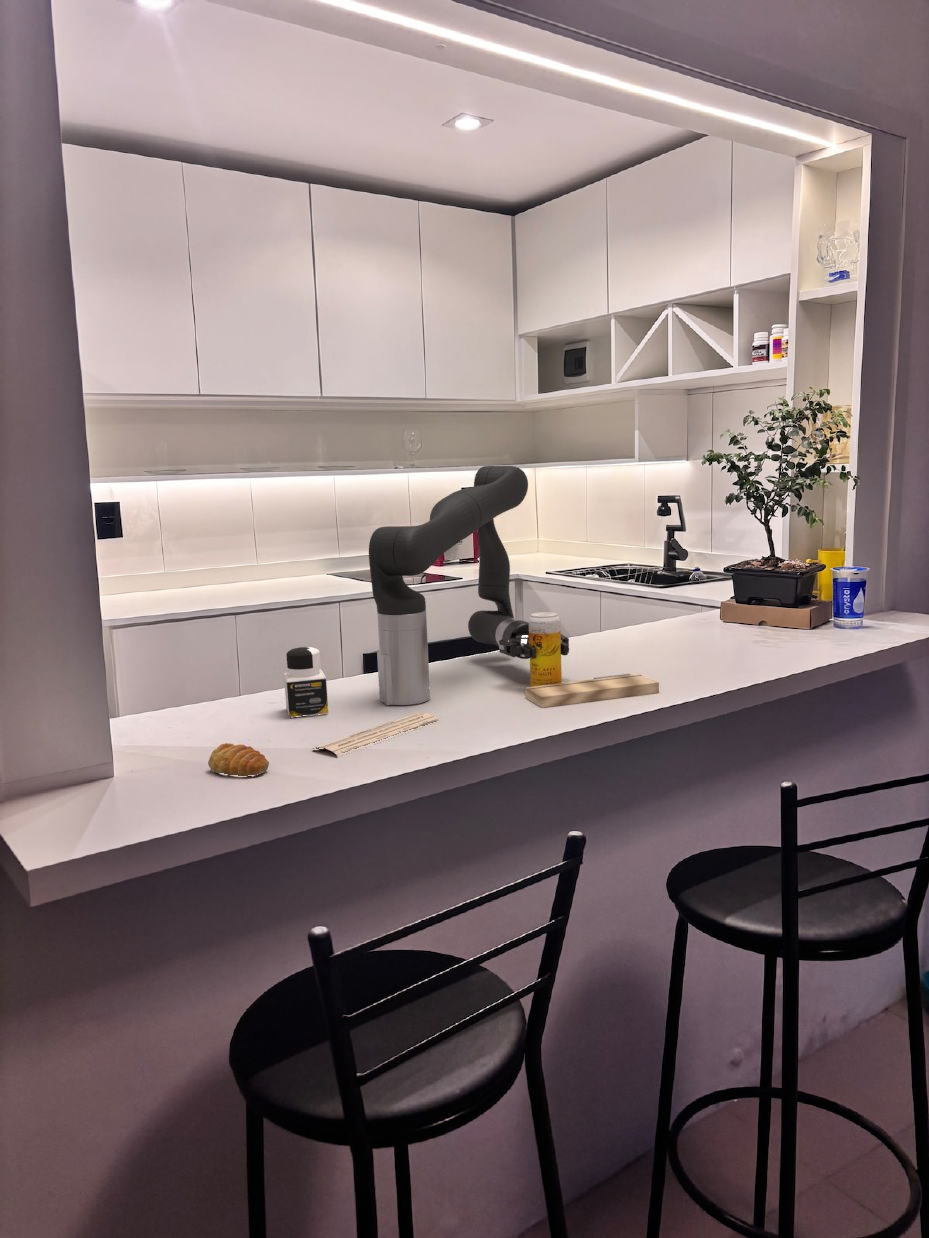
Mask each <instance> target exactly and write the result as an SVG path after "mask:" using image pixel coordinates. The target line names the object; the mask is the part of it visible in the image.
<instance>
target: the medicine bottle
mask: <svg viewBox="0 0 929 1238" xmlns="http://www.w3.org/2000/svg"><path fill="white" fill-rule="evenodd" d="M320 653H321V651H320V650H319V649H318V648H316V647H311V646H303V647H302V646H301V647H295V648H291V649H290V650H287V652H286V655H285V656H286V667H287V672H284V673H283V681H284V695H285V706H286V711H287V714H288V717H296V716H303V715H316V716H319V715H318V714H325V715H328V714H329V700H328V698H329V697H328V687H327V685H328V684H327V677H326V675H325V673H324V671H323V669H322V668H321V666H322V665H321V656H320ZM327 713H328V714H327Z"/></svg>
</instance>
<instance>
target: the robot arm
mask: <svg viewBox="0 0 929 1238" xmlns="http://www.w3.org/2000/svg"><path fill="white" fill-rule="evenodd" d="M474 476H475V477H474V480H473V486H472V487H467V488H466V487H465V488H463V489H460V490H456V491H454V492H452V493H450V494H448V495H446V496H445V497H444V498H441V500H439V501H437V502H436V503H435V504H434V506H433V507H432V509H431V511H430V513H429V514H430V515H429V521H427V522H425V523H423V524H419V525H406V526H405V525H403V526H400V525H397V526H393V525H391V526H387V525H386V526H381V527H378V528H376V529H375V530H373V532H372V534H371V536H370V539H369V542H368V543H369V544H368V563H369V571H370V580H371V587H372V589H371V590H372V597H373V599H374V602H375V605H376V612H377V613H376V614H377V626H378V627H377V630H378V632H377V633H378V645H379V646H378V648H379V649H377V652H376V655H377V659H376V660H377V673H378V692H379V693H378V694H379V700H380V701H382V703H384V705H386V706H410V705H418V704H422V703H425V702H427V701H429V700H430V699H431V685H430V683H431V682H430V667H429V666H430V665H429V646H428V628H427V627H428V625H427V624H428V623H427V622H428V621H427V610H426V609H427V605H426V598H425V596H424V595H423V594H422V593H420V592H418V591H416V590H414V589H412V588H411V587H410V586H409V585H408V584H406V582H405V580H404V577H413V576H418V575H421V574H423V573H425V572H426V571H427V570H428V569H430V568H431V567H432V566H433V565H434V564H435V563H436V562H437V561H438V560H440V558H441V557H442V556H443V554H445V553H446V552H447V551H449V550H450V549H452V548H453V547H454V546H456V545H457V544H458V543H460V542H461V541H463V540H464V539H467V538H468V537H469V536H471V535H472V534H473V533H475V532H477V542H478V554H479V556H478V557H479V559H478V560H479V561H478V562H479V564H478V586H477V587H478V588H477V591H478V592H477V594H478V597H479V598H481V599H482V600H485V601H490V602H493V603H494V604H495V606H496V608H497V610H477V611H475V612H473V614H472V615H470V617H469V620H468V622H467V626H468V632H469V635H470V637H472V639H473V640H474V641H476V642H478V643H482V644H487V645H493V646H497V647H498V648H499V653H500V654H503V655H506V656H509V657H511V658H518V659H521V660H528V659H529V660H530V658H531V659H535V658H536V649H535V647H533V646H530V645H529V621H526V620H523V619H521V618H515V615H514V612H513V609H512V608H513V607H512V603H511V598H510V597H511V596H510V580H511V578H510V576H511V575H510V574H511V563H510V559H509V555H508V552H507V550H506V548H505V546H504V544H503V542H502V540H501V538H500V536H499V533H498V531H497V529H496V525H495V521H494V520H495V518H496V517H497V516H499V515H502V514H504V513H506V512H507V511H510V510H513V509H515V508H517V507H518V506H520V505H521V504H522V502H523V501H524V499H525V498H526V496H527V493H528V490H529V480H528V477H527V475H526V473H525V471H524V470H523V469H521V468H519V467H517V466H514V465H485V466H484V465H483V466H482V467H480V468H479V469H478V470H477V472H476V473H475V475H474ZM569 642H570V638H569V637H567V636H566V635H564V634H562V633H561V656H568V654H569V653H570V644H569Z"/></svg>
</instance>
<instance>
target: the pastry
mask: <svg viewBox="0 0 929 1238" xmlns="http://www.w3.org/2000/svg"><path fill="white" fill-rule="evenodd" d="M207 762H208V767H209V769H210V770H211V771H212V770H213V771H214V772H215V774H218V773H224V774H228V775H238V776H248V775H257V774H259V775H260V774H263V773H266V772H267V771H268V768H269V766H270V762H269V760H267V758H266V756H265V755H264V754H262V753H261V751H259V750H256V749H254V748H253V747H252V746H251V745H249V746H247V745H245V744H234V743H227V742H225V743H222V744H220V745H218V746H217V747H216V748H215V749H214V750H213V751H212V752H211V754H210V757H209V759H208V760H207ZM266 770H267V771H266ZM213 771H212V772H213ZM214 772H213V773H214ZM257 776H258V775H257Z"/></svg>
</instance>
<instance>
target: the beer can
mask: <svg viewBox="0 0 929 1238" xmlns="http://www.w3.org/2000/svg"><path fill="white" fill-rule="evenodd" d="M528 623H529V645H530V646H533V647H535V649H536V658H535V659H531V658H529V673H530V674H529V677H530V679H529V681H530V687H534V686H542V685H551V684H559V683H563V680H562V678H563V677H562V676H563V675H562V655H561V634H562V633H561V619H560V616H559V613H557V612H551V611H550V612H549V611H542V612H533V613H531V614H530V617H529V618H528Z"/></svg>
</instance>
